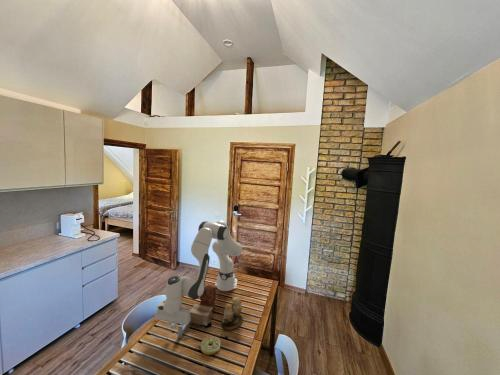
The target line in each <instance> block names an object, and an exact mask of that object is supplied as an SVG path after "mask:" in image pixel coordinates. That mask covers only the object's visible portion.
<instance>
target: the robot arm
mask: <svg viewBox="0 0 500 375" xmlns="http://www.w3.org/2000/svg"><path fill="white" fill-rule="evenodd" d="M197 230H198V232H197V234H196V235H195V237H194V240H193V241H192V244H191V247H190V252H191V255H192V256H193V257H194V258H195V259H196V260H197V262H198V263H199V267H198V270H197V271H198V272H197V275H196V279H193V278H191V277H189V276H185V275H181V276H179V275H174V276H171V277H170V278H168V280H167V281H166V285H165V299H163V300H161V301H160V302H159V303H158V305H157V306H156V311H155V318H156V320H157V321H158V320H159V321H162V322H168V323H167V324H168V325H169V329H171V330H172V329H173V330H175V329H177V324H179V325H187V324H188V323H189V322H190V320H191V317H190V310H191V308H189V307H184V306H182V304H183V303H182V302H183V301H182V296H186V297H188V298H190V299H192V300H193V301H194V300H195V301H196V300H198V299H200V297H201V296H202V295H203V292H204V287H205V286H206V285H205V284H206V279H207V273H208V270H209V266H210V265H209V264H210V260H211V259H210V257H211V256H210V255H209V249H210V247H211V248H212V252H214V253H215V254H216V256H217V257H218V258H217V259H218V260H219V261H218V262H219V269H218V275H217V276H216V282H215V283H214V287H215V288H217V290H219V291H221V292H229V291H232V290H236V289H237V286H238V279H237V278H236V274H235V273H234V270H235V268H234V261H233V259H232V258H231V257H230V256H232V257H239V256H240V255H241V254H242V253H243V246H242V245H241V243H239V242H238V241H236V240H235V239H234V238H233V237H232V235H231V233H230V229H229V227H228V224H227V223H226V222H225V221H224V220H218V221H215V222H211V221H202V222H201V223H199V226H198V229H197ZM213 239H214V242H213V243H212V240H213ZM211 243H212V246H211Z"/></svg>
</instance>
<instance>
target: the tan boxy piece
mask: <svg viewBox="0 0 500 375" xmlns="http://www.w3.org/2000/svg"><path fill="white" fill-rule="evenodd" d="M212 309H213V307H210V306H204V305H200V303H199V304H197V303H194V304H193V306H192V307H191V308H190V317H191V323H190V324H188V326H187V327H186V328H185V329H190V328H191V326H192V325H193V324H197V325H202V326H204V327H205V326H208V325H209V323H210V322H211V319H212V317H213V316H212V315H213V311H212ZM213 310H214V309H213Z"/></svg>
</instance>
